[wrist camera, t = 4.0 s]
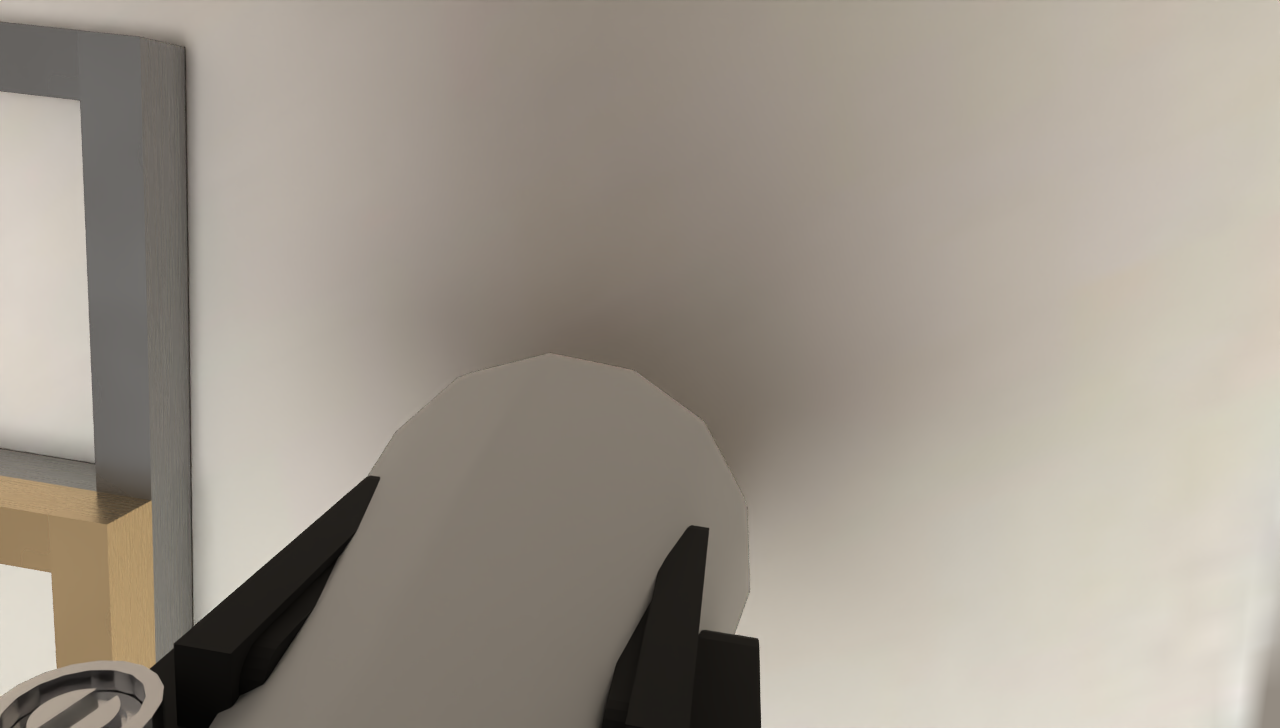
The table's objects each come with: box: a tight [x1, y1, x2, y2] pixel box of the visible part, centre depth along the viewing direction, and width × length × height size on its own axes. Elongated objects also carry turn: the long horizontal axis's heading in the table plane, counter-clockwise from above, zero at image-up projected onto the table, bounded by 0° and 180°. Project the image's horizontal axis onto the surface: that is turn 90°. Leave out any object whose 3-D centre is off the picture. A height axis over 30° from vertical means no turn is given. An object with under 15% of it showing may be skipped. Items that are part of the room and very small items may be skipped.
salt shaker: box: [209, 353, 750, 728], centre depth 9 cm, size 6×6×13 cm
